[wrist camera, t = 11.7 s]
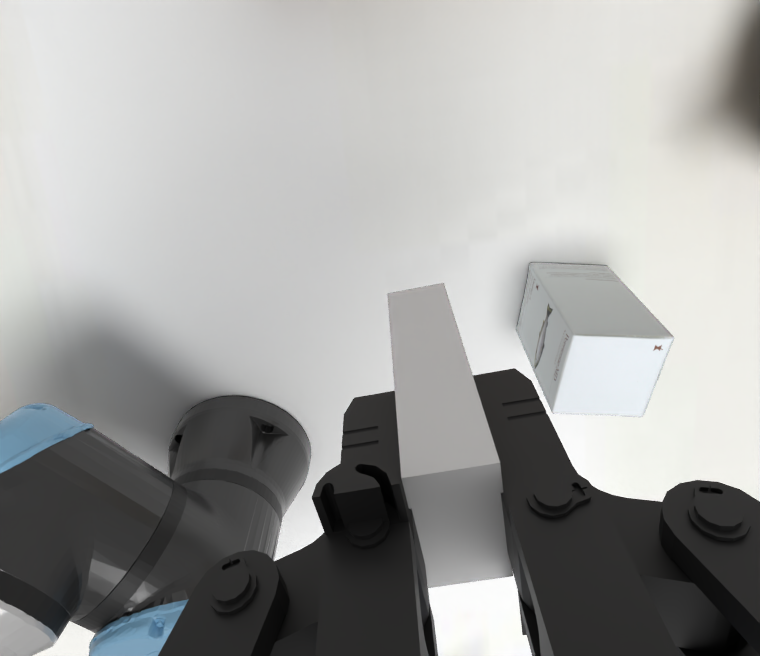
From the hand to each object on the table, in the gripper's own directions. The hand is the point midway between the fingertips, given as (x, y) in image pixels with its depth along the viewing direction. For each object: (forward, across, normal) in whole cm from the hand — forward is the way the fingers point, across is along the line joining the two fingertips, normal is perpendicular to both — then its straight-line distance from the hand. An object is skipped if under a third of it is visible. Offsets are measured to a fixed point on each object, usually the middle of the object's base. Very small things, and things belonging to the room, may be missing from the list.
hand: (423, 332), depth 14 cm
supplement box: (+31, +13, -17) cm, 37 cm away
